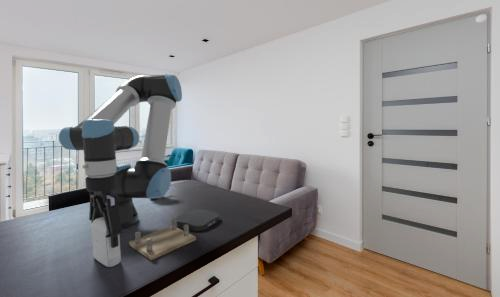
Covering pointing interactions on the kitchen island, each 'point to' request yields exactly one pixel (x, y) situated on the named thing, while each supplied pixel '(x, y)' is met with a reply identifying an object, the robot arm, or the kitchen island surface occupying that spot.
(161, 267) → the kitchen island surface
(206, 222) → the media streaming box
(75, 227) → the kitchen island surface
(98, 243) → the photo printer
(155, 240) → the peg board
